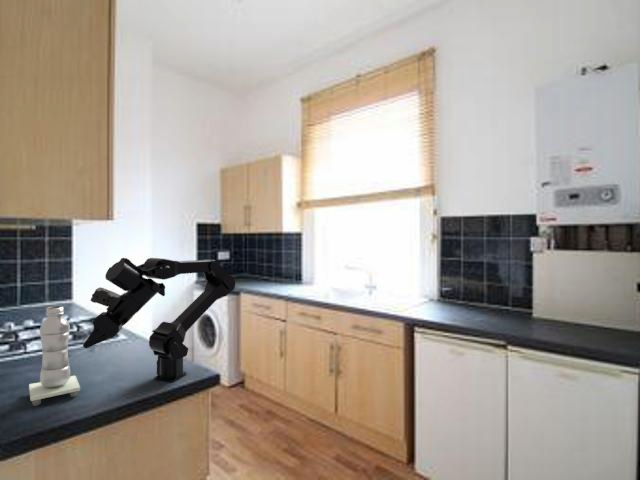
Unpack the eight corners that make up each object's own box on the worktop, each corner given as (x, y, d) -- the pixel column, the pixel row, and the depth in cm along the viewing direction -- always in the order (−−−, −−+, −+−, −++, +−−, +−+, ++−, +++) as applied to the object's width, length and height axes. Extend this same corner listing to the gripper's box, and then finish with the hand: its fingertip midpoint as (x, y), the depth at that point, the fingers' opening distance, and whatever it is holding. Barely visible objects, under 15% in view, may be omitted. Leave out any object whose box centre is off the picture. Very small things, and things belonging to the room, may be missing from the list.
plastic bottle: (72, 378, 101) (71, 303, 101) (69, 388, 95) (68, 308, 95) (42, 383, 98) (41, 305, 98) (37, 392, 92) (36, 310, 92)
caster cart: (75, 384, 103) (75, 375, 103) (80, 397, 96) (80, 387, 96) (29, 393, 97) (29, 384, 97) (30, 408, 89) (30, 397, 89)
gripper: (120, 273, 109) (77, 313, 106) (102, 281, 91) (49, 330, 88) (150, 299, 111) (108, 339, 108) (138, 312, 93) (88, 361, 90)
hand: (89, 341), depth 98 cm, fingers open, 9 cm apart
